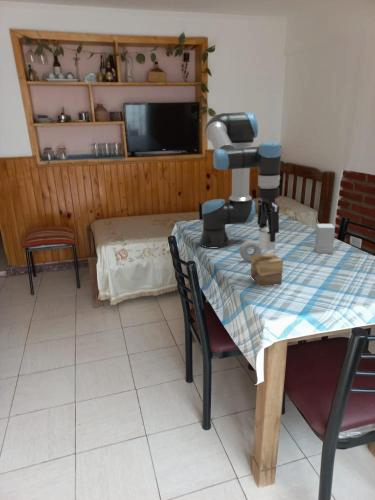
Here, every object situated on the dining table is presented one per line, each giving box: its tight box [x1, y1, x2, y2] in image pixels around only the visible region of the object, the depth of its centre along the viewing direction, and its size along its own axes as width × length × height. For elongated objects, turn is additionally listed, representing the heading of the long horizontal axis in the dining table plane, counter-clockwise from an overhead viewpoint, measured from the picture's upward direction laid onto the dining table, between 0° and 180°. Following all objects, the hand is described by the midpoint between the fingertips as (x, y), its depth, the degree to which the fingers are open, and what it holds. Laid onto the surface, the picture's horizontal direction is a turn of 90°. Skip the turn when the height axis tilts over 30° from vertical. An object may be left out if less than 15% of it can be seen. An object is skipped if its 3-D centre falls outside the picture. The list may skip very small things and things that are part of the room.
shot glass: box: [257, 227, 277, 251], centre depth 134 cm, size 7×7×7 cm
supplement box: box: [314, 223, 336, 254], centre depth 167 cm, size 7×7×13 cm
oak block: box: [250, 252, 284, 276], centre depth 137 cm, size 9×9×5 cm
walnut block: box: [250, 267, 283, 287], centre depth 139 cm, size 9×9×5 cm
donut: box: [239, 239, 263, 262], centre depth 159 cm, size 10×4×10 cm, turn 93°
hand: (267, 246), depth 135 cm, fingers closed on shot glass, 7 cm apart
